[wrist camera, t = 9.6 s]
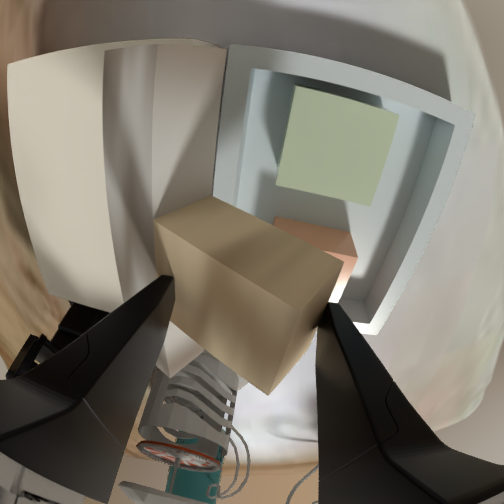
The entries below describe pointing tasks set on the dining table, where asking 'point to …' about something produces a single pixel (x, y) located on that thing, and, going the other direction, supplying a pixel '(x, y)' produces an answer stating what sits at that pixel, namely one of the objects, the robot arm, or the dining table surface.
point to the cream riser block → (67, 168)
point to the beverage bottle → (195, 478)
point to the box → (332, 209)
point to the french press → (189, 425)
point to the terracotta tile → (325, 246)
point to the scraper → (200, 221)
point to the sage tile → (334, 145)
